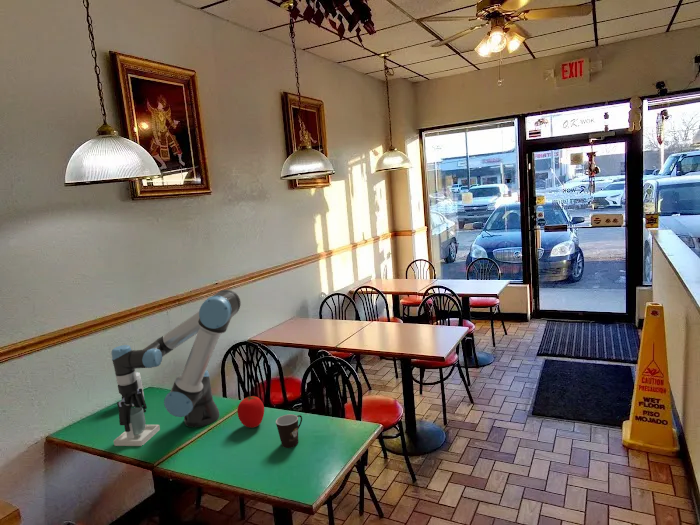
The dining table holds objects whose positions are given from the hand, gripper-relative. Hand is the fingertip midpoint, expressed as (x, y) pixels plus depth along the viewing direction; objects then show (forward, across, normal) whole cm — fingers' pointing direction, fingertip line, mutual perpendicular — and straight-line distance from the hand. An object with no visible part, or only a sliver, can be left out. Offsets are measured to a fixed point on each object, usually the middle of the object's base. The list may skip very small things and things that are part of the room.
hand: (137, 432), depth 205 cm
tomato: (+3, -10, +49) cm, 50 cm away
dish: (+2, 0, 0) cm, 2 cm away
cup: (0, 0, 0) cm, 1 cm away
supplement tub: (+2, -32, -24) cm, 41 cm away
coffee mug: (+3, +4, +71) cm, 71 cm away
